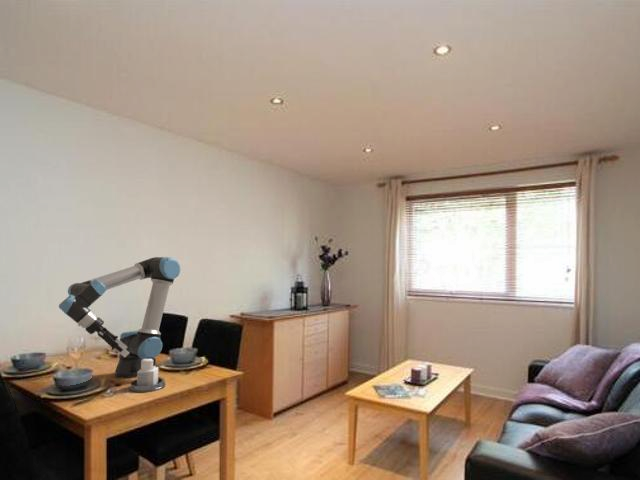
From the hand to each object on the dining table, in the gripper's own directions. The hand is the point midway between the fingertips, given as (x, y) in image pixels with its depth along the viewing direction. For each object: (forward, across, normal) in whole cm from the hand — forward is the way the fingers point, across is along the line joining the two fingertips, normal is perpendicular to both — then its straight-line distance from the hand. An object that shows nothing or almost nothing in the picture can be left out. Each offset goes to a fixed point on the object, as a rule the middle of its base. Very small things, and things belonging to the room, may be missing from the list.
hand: (126, 352), depth 187 cm
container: (+19, 0, -5) cm, 20 cm away
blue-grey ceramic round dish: (+20, 0, -6) cm, 20 cm away
